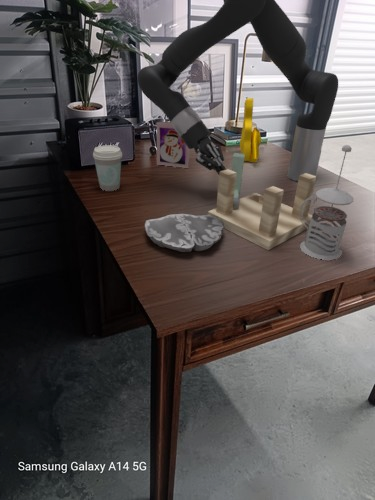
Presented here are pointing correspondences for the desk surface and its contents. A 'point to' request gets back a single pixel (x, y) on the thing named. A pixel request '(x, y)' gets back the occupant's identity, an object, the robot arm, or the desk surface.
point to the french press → (322, 242)
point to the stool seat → (263, 211)
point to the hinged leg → (237, 176)
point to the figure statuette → (249, 135)
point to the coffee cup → (108, 166)
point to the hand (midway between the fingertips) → (226, 177)
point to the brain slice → (185, 231)
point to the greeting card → (171, 147)
